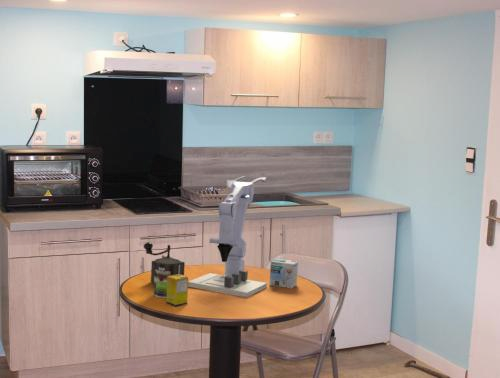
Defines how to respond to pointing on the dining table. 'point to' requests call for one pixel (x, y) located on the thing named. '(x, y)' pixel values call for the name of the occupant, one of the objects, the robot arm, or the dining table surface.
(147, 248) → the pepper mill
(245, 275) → the handle
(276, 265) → the light bulb box
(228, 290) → the breaker board
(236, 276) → the dark gray block
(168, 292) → the supplement box
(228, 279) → the handle
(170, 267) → the coffee can
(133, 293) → the dining table surface
